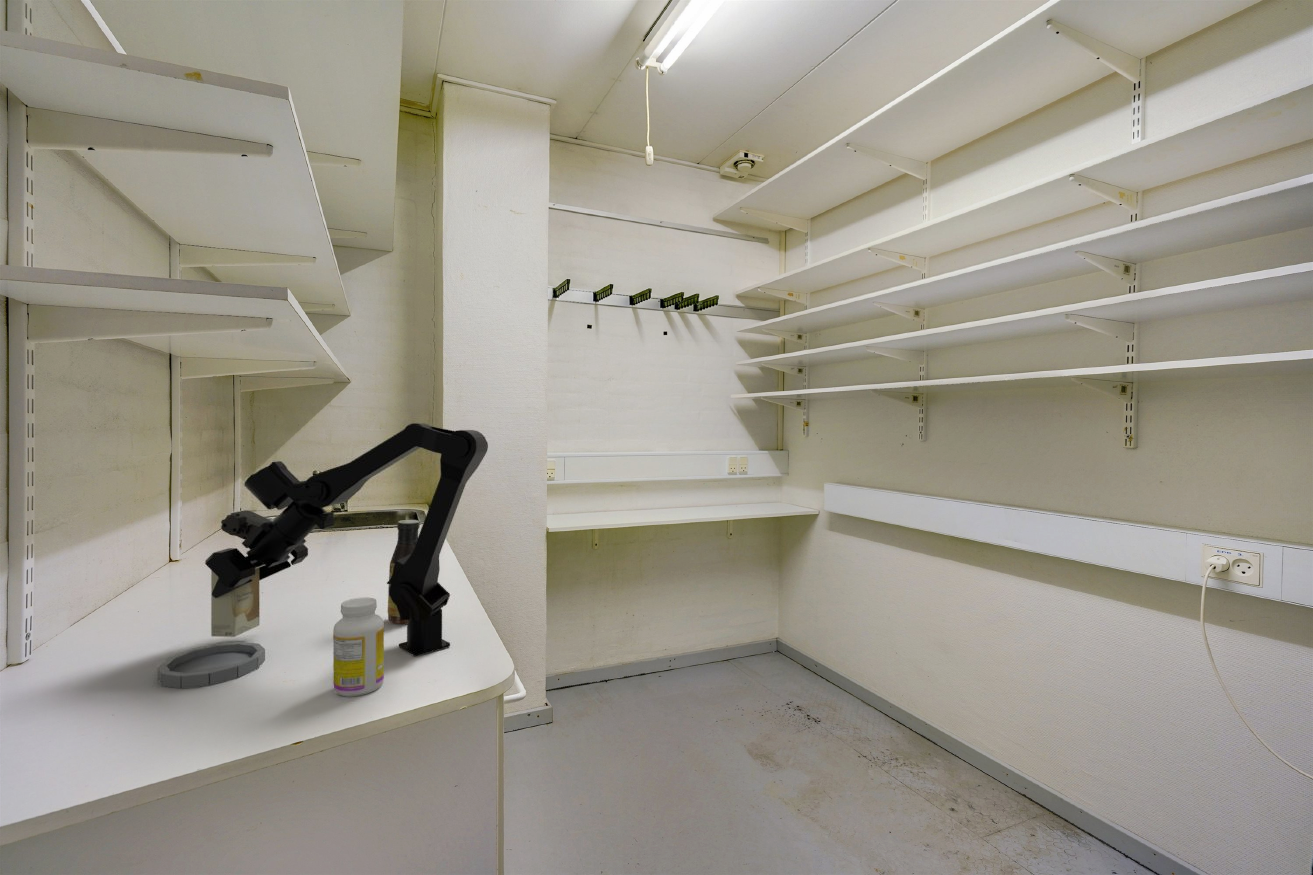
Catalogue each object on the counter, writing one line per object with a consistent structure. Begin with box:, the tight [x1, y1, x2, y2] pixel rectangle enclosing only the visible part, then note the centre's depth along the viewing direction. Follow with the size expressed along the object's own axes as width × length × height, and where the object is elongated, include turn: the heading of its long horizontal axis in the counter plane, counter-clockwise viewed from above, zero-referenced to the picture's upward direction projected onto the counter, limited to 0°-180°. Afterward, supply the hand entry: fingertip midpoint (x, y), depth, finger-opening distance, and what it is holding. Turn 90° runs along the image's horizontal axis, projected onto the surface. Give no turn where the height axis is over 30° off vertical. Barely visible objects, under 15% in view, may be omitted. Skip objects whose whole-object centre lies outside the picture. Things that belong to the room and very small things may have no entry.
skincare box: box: [210, 568, 261, 638], centre depth 101 cm, size 6×4×12 cm
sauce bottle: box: [387, 519, 421, 625], centre depth 114 cm, size 6×6×20 cm
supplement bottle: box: [332, 597, 385, 698], centre depth 85 cm, size 7×7×13 cm
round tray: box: [157, 641, 266, 689], centre depth 91 cm, size 13×13×2 cm
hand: (228, 590), depth 101 cm, fingers closed on skincare box, 6 cm apart
